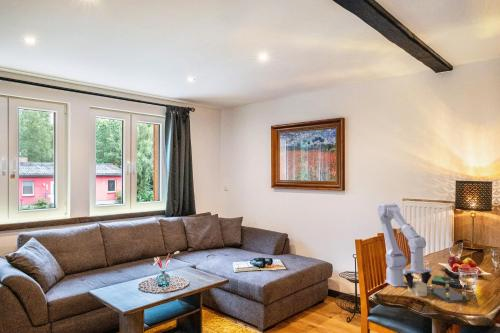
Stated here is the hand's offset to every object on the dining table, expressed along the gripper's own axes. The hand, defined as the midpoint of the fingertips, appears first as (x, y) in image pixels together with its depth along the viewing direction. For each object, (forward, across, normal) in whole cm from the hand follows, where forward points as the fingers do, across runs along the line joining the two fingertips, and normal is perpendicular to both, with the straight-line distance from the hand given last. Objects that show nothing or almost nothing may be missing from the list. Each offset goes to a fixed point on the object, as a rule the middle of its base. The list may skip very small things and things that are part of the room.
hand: (417, 287), depth 173 cm
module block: (+3, 0, 0) cm, 3 cm away
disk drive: (+4, +25, +10) cm, 27 cm away
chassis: (+3, +13, -5) cm, 14 cm away
